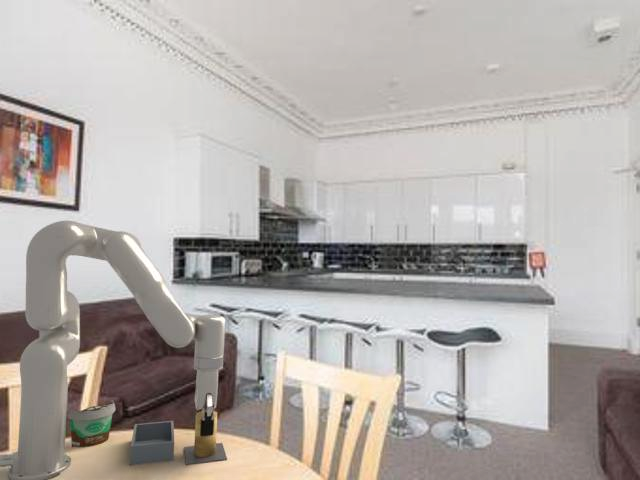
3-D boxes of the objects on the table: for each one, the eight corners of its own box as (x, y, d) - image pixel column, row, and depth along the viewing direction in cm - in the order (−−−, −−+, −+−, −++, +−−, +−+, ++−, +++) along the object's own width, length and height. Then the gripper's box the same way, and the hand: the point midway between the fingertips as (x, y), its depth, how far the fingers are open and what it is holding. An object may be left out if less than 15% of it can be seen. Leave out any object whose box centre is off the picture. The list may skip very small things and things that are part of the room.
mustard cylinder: (194, 458, 110) (196, 418, 110) (193, 449, 115) (195, 411, 115) (216, 455, 111) (218, 416, 112) (214, 447, 117) (216, 409, 117)
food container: (76, 455, 111) (78, 416, 111) (65, 448, 115) (67, 410, 115) (122, 440, 121) (124, 404, 121) (111, 434, 124) (113, 399, 125)
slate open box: (129, 467, 106) (130, 446, 106) (133, 442, 119) (134, 424, 120) (173, 461, 109) (174, 441, 109) (172, 438, 123) (173, 420, 123)
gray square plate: (186, 467, 107) (186, 463, 107) (184, 449, 116) (184, 446, 116) (226, 461, 110) (227, 458, 110) (222, 445, 119) (222, 442, 119)
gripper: (192, 355, 121) (188, 417, 120) (196, 371, 105) (192, 443, 104) (219, 354, 124) (215, 415, 123) (227, 369, 107) (223, 440, 106)
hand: (204, 428), depth 113 cm, fingers open, 9 cm apart
